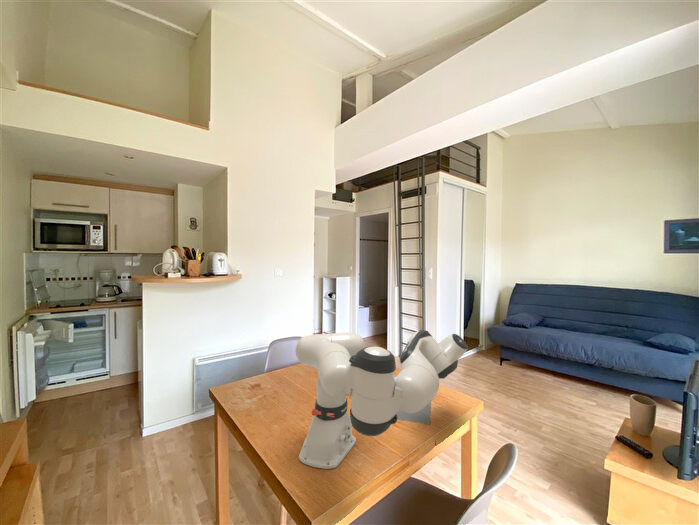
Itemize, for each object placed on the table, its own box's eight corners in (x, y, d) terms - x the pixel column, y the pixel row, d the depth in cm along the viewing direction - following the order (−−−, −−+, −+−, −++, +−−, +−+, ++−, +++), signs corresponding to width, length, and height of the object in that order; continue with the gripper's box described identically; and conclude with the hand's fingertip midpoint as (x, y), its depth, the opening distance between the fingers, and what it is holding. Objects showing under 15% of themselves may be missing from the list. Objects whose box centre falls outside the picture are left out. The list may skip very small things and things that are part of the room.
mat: (430, 426, 110) (430, 424, 110) (376, 417, 116) (376, 415, 116) (431, 395, 135) (431, 393, 135) (386, 389, 141) (386, 387, 141)
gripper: (423, 374, 105) (405, 390, 113) (456, 363, 116) (438, 378, 124) (414, 359, 109) (397, 375, 117) (448, 350, 120) (430, 365, 128)
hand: (418, 376), depth 121 cm, fingers open, 8 cm apart
